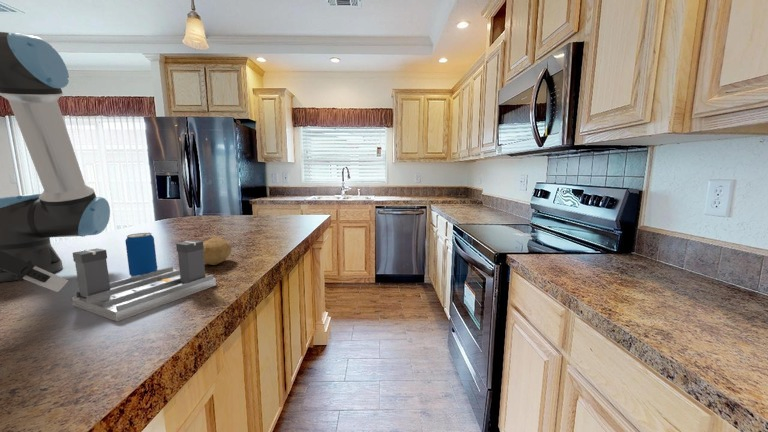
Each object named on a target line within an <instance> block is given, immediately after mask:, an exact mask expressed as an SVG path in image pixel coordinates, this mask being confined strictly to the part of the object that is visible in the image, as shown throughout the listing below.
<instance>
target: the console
mask: <svg viewBox="0 0 768 432" xmlns="http://www.w3.org/2000/svg"><path fill="white" fill-rule="evenodd" d="M216 279H217V278H216V277H214V274H209V275H205V277H202V278H199V279H196V280H193V281H190V282H187V283H183V282H181V278H180V269H174V267H173V266H169V267H168V266H167V267H164V268H160V269H157V270H156V271H153V272H149V273H145V274H141V275H138V276H134V277H133V276H130V277H127V278H122V279H119V280H116V281H112V282H109V283H110V289H109V290H105V291H102V292H98V293H95V294H91V295H88V296H86V297H83V296H80V291H79V290H78V291H75V292H74V296H72V297H71V299H72V305H73V307H76V308H79V309H81V310H84V311H86V312H89V313H93V314H95V315H97V316H100V317H103V318H107V319H109V320H112V321H114V322H120V321H123V320H125V319H128V318H131V317H133V316H136V315H139V314H142V313H144V312H147V311H150V310H153V309H155V308H158V307H161V306H163V305H166V304H168V303H172V302H174V301H176V300H181V299H182V298H185V297H188V296H190V295H194V294H196V293H199V292H202V291H204V290H207V289H210V288H212V287H216V286H217V282H216V281H217V280H216Z"/></svg>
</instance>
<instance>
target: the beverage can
mask: <svg viewBox="0 0 768 432" xmlns="http://www.w3.org/2000/svg"><path fill="white" fill-rule="evenodd" d="M154 237H155V236H154V235H153V233H151V232H138V233H132V234H128V235H126V239H125V240H124V241H125V249H126V256H127V266H128V271H129V272H128V273H129V275H130V277H134V276H138V275H141V274H145V273H149V272H153V271H156V270H158V262H157V254H156V253H157V252H156V245H155V238H154Z"/></svg>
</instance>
